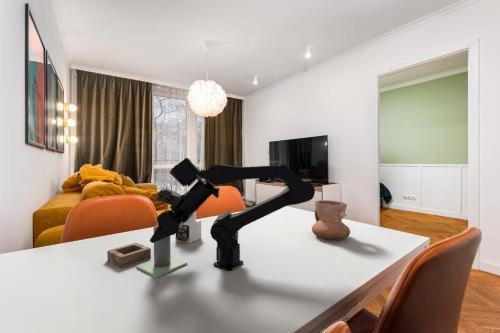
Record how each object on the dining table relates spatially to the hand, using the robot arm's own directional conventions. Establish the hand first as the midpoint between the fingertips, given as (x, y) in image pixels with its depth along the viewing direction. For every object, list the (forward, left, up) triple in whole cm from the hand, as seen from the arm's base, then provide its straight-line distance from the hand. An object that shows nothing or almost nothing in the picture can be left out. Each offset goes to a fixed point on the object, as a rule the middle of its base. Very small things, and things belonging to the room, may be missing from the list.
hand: (157, 236), depth 67 cm
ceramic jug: (-32, -56, -9) cm, 65 cm away
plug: (-1, -1, -8) cm, 8 cm away
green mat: (-1, -1, -9) cm, 9 cm away
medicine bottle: (+12, -21, -9) cm, 26 cm away
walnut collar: (+12, +2, -9) cm, 15 cm away
